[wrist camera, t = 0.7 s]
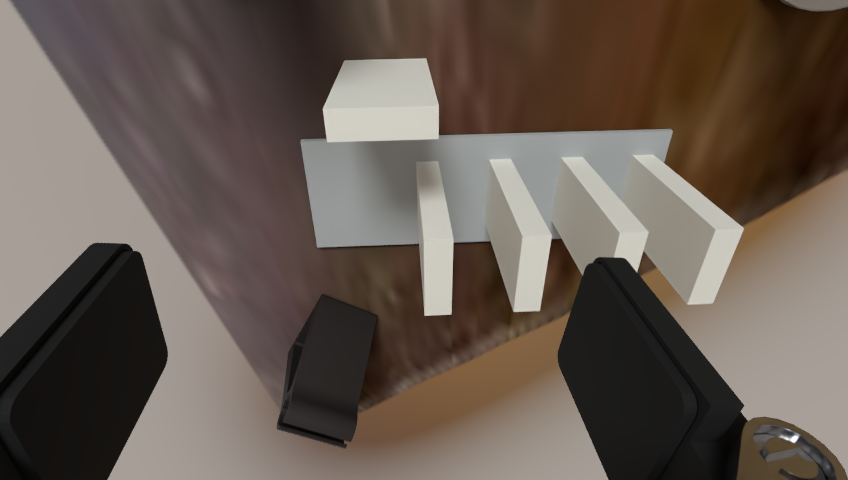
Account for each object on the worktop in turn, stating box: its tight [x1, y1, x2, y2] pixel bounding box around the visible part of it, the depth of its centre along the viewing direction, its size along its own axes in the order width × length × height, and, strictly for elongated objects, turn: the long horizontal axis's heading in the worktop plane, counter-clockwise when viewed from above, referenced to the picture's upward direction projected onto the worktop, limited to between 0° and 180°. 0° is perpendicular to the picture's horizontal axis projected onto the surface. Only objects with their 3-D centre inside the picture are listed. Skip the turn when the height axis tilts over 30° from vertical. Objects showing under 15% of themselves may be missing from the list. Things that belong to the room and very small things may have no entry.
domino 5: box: [621, 155, 744, 305], centre depth 35 cm, size 2×6×12 cm, turn 1°
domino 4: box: [551, 157, 649, 276], centre depth 35 cm, size 2×6×12 cm, turn 1°
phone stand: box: [277, 294, 377, 448], centre depth 43 cm, size 9×6×12 cm, turn 150°
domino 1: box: [323, 59, 439, 142], centre depth 30 cm, size 2×6×12 cm, turn 91°
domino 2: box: [416, 161, 454, 316], centre depth 35 cm, size 2×6×12 cm, turn 0°
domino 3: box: [485, 159, 552, 312], centre depth 35 cm, size 2×6×12 cm, turn 1°
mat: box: [300, 129, 673, 247], centre depth 40 cm, size 30×10×1 cm, turn 91°
